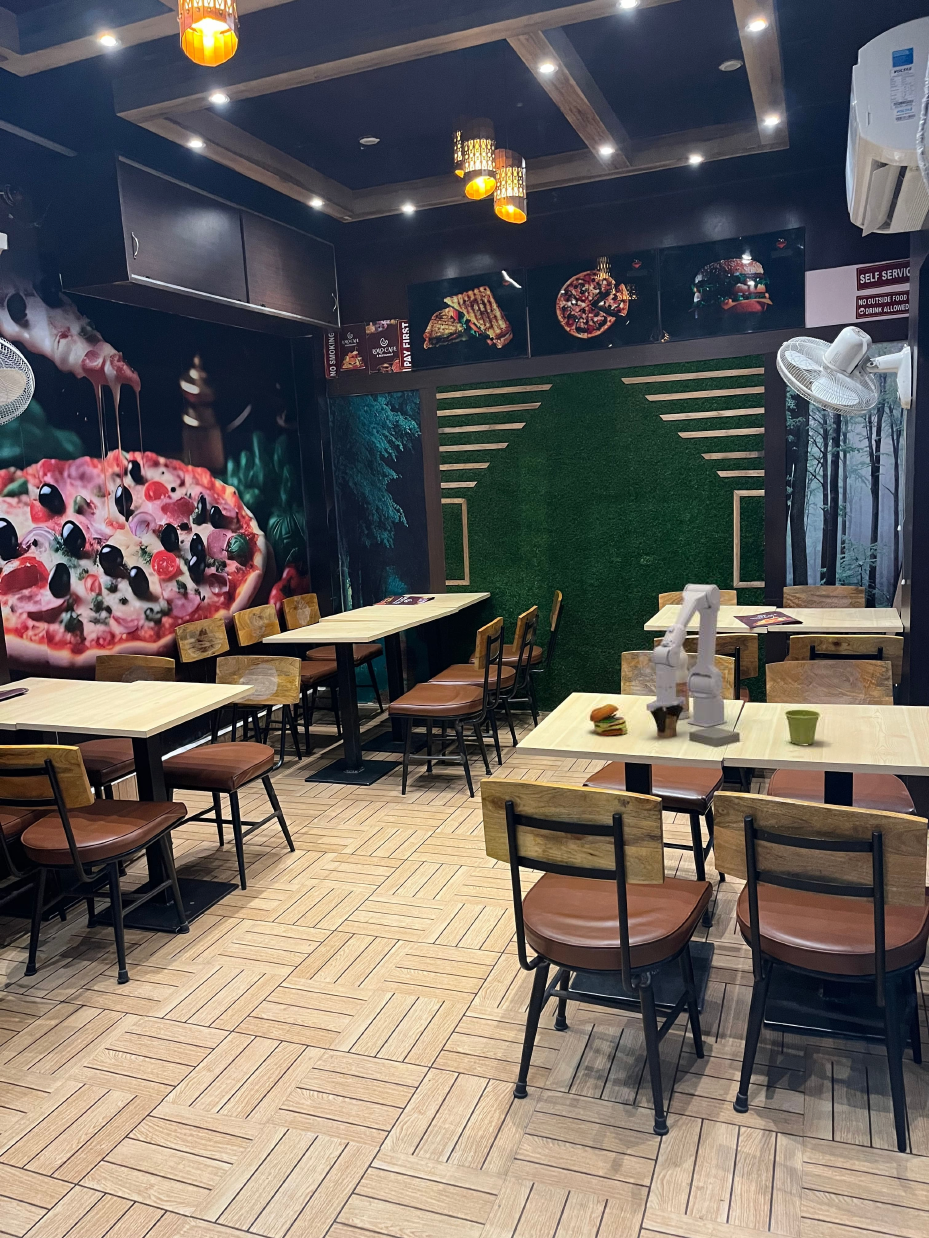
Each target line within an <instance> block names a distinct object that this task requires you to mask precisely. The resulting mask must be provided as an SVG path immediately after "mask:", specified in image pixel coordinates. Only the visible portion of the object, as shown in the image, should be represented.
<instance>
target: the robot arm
mask: <svg viewBox="0 0 929 1238" xmlns="http://www.w3.org/2000/svg"><path fill="white" fill-rule="evenodd" d="M721 594H722V592H721V590H720V589H719V587H718V586H717V585H716V584H696V583H695V584H694V583H687V584H686V585H685V586H684V589H683V592H682V593H681V597H682V605H681V607H680V610H679V612H678V615H677V618H676V621H675V623H674V624H672V625H670V626H669V627H668V628H667V630H666V632H665V633H664V634H665V635H664V636H663V638H662V640H661V642H660V644H659V645H658V646H656V647H654V648H653V651H652V654H651V661H652V662H651V663H653V669H654V671H655V680H656V681H655V687H656V689H655V691H656V700H654V701H651V702H648V703H646V706H645V707H646V711H649V712H650V714H651V716H652V717H653V719H654V721H655V725H656V730H657V729H658V732H661V733H664V732H665V722H666V716H667V715H671V716H676V726H677V725H678V721H679V719H678V718H679V716H680V714H681V712H682V710H683V706H679V704H686V698H685V697H676V665H677V664H678V662H679V660H680V652H681V650H680V648H681V646H683V645H684V644H683V643H684V642H685V639H686V637H687V636H688V634H687V633H688V632H687V630H686V629H687V627H688V626H689V624H690V622H691V621H692V619H693V617H694V616H695V614H696V613H698V614H699V627H698V642H697V643H698V644H697V657H696V664H695V665H694V666H693V667H691V668H690V669H689V673H688V674H689V677H688V680H687V688H688V690H689V693H690V695H691V696H692V703H693V705H692V706H693V708H692V710H693V711H692V713H693V715H692V718H693V719H692V720H689V721H687V724H689V725H696V726H699V727H704V728H710V727H715V726H717V725H723V724H726V723H727V721H726V720H725V702H724V699H723V697H722V695H720V694H721V693H722V691H723V687H724V682H723V673H722V671H721V670H720V669H719V668H718V667H716V666H715V659H716V642H717V641H716V640H717V629H718V628H717V627H718V615H719V611H720V607H721ZM663 708H666V711H665V710H664V709H663Z"/></svg>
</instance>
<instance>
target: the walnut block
mask: <svg viewBox="0 0 929 1238" xmlns="http://www.w3.org/2000/svg"><path fill="white" fill-rule="evenodd" d="M677 734H678V733H677V725H676V716H671V715H667V716H666V722H665V732H664V733H661V732H658V729H657V728H656V735H657V737H660V738H663V739H671V738H675V737H677Z"/></svg>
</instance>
